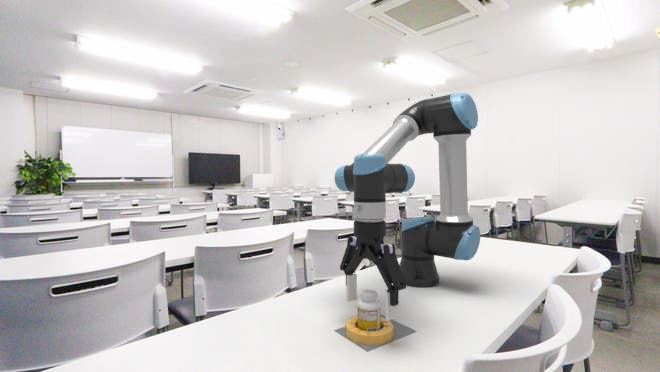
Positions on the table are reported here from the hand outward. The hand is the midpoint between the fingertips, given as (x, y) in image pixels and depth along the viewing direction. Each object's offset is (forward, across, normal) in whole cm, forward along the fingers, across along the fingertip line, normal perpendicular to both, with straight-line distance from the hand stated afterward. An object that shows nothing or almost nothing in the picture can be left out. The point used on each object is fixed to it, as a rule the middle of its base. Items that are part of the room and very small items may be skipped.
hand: (370, 309), depth 77 cm
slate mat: (+6, 0, +2) cm, 6 cm away
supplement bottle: (+6, 0, 0) cm, 6 cm away
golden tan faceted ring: (+6, 0, 0) cm, 6 cm away
